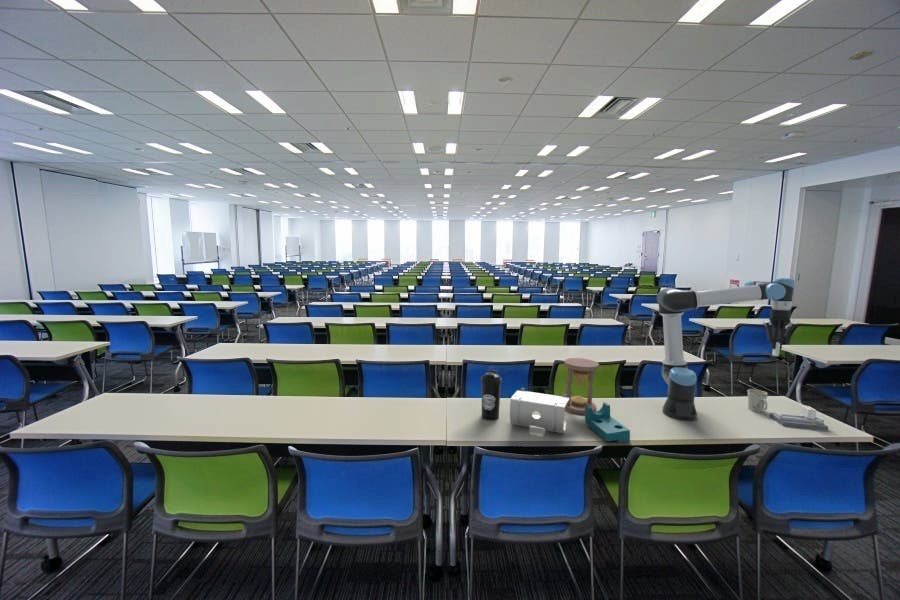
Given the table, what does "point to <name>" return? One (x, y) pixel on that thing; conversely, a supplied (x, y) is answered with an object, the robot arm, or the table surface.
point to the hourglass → (581, 373)
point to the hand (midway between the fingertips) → (775, 355)
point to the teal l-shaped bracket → (606, 424)
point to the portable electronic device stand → (542, 403)
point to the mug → (757, 400)
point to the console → (799, 421)
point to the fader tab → (808, 412)
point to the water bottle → (491, 395)
